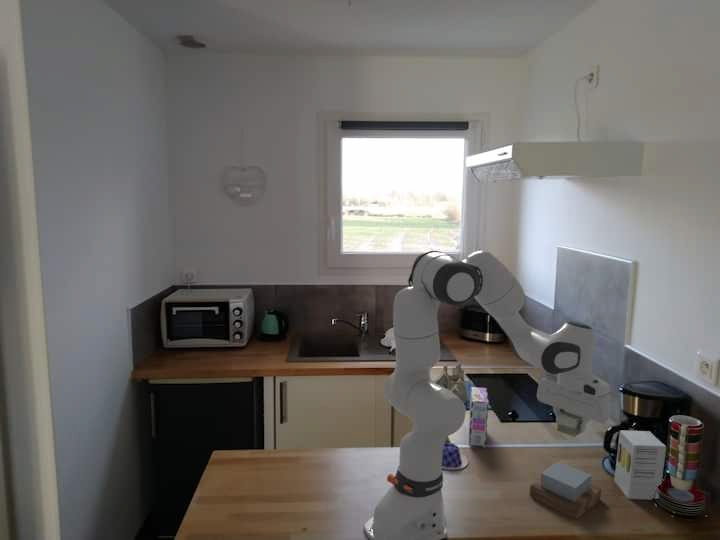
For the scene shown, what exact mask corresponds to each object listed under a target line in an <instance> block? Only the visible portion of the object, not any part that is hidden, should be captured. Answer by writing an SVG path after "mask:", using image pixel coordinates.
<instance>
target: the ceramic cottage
mask: <svg viewBox="0 0 720 540" xmlns="http://www.w3.org/2000/svg"><path fill="white" fill-rule="evenodd" d="M451 373H452V374H451V375H450V374H449V373H448V365H447V364H444V365H443V371H442V372H441V373H440V374H439V375H438V377H436V378H435V379H434V381H433V382H434V383H436V384H438V385H440V386H442V387H444V388H446V389H448V390H450V391H451V392H453V393H454V394H455V395H456V396H457V397H458V398H459V399H460V400H462V402H463V403H465V402H466V401H467V400H468V401H469V395H468V391H467V388H466V382H465V376H464V375H465V369H464V368H462V364H461V362H460V361H459V362H458V363H457V364H456V366H455V367H452V371H451ZM465 404H466V403H465Z"/></svg>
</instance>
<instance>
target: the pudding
mask: <svg viewBox="0 0 720 540" xmlns="http://www.w3.org/2000/svg"><path fill="white" fill-rule="evenodd" d="M468 464H469V460H468V458H467V456H465V455H464V454H462V453H461V452H460V449H459V446H458V445H456V444H454V443H452V442H451V443H450V442H446V443H444V447H443V455H442V469H444V470H454V471H455V470H461V469H464V468H465V467H466V466H467V465H468ZM445 466H446V467H447V468H446V467H445ZM448 467H451V468H448Z"/></svg>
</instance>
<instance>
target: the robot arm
mask: <svg viewBox="0 0 720 540" xmlns="http://www.w3.org/2000/svg"><path fill="white" fill-rule="evenodd" d="M411 267H412V268H411V271H410V272H411V273H410V274H409V277H408V279H407V283H408V286H407V287H404V288H403V289H401V290H399V291H398V292H397V293H396V294H395V297H394V299H393V310H392V311H393V312H392V325H393V327H392V328H393V337H394V347H395V367H394V371H393V372H392V373H391V374H390V375H389V376H388V378H387V379H386V381H385V383H384V388H383V393H384V397H385V399H386V400H387V401H388V403H390V405H391V406H392V407H393V408H394V409H395V410H396V411H398V412H399V413H401V414H402V415H404V416H406V417H408V418H409V419H410V420H411V422H412V430H411V431H410V432H408V433H406V434H405V435H404V436H403V437H402V438H401V440H400V443H399V463H398V464H399V465H398V467H397V470H396V474H395V476H394V475H393V474H392V473H390V474H388V475H387V477H386V482H388V483H390V484H392V486H390V488H389V489H388V490H387V492H386V493H385V494H384V496H383V497H382V498H380V501H378V503H377V504H376V506H375V508H374V512H373V516H371V517H370V518H369V520H367V521H366V522H364V524H363V530H364V532H365V534H366V536H367V537H368V538H369V539H370V540H442V539H445V538H446V537H448V529H447V528H446V517H445V507H444V499H443V492H442V488H443V486H444V485H443V483H444V471H443V468H442V455H443V447H444V444H446V443H445V442H446V440H447V439H448V437H450V436H452V435H454V434H455V433H456V432H458V431H459V430H460V429H461V427H462V426H463V424H464V423H465V419H466V414H467V413H466V410H467V409H466V406H465V404H464V403H463V402H462V400H460V399H459V398H458V397H457V396H456V395H455V394H454V393H453V392H451V391H450V390H448V389H446V388H444V387H442V386H440V385H438V384H436V383H434V382H435V381H433V380H432V378H431V369H433V368H434V367H435V366H436V365H437V364H438V363H439V361H440V359H441V347H440V346H441V343H440V333H439V323H438V322H439V321H438V311H439V307H440V306H441V303H442V304H444V305H446V306H451V307H460V306H463V305H465V304H467V303H469V302H471V301H472V300H473V299H474V300H476V301H477V302H478V304H479V305H480V306H481V308H482V309H484V310H485V311H486V312H487V313H488V314H489V315H490V316H491V317H492V318H493V319H494V320H495V322H496V323H497V324H498V325H499V327H500V328H501V329H502V331H503V332H504V333H505V335H506V336H507V339H508V341H509V344H510V348H511V351H512V353H513V355H514V356H515V357H516V358H517V359H518V360H521V361H524V362H526V363H528V364H529V365H532V366H534V367H536V368H537V369H540V370H541V372H540V374H539V376H538V382H539V383H538V387H537V391H536V398H537V400H538V402H540V403H543V404H546V405H549V406H552V411H553V413H554V415H555V422H557V423H558V416H559V414H560V413H561V410H563V411H568V412H571V413H574V414H577V415H580V416H582V420H584V422H583V423H582V422H581V423H579V424H578V430H580V431H583V432H584V431H586V429H587V425H588V423H590V421H594V422H596V423H600V424H604V423H607V422H608V421H609V420H610V419H611V417H612V399H611V396H610V394H609V392H610V390H611V386H610V384H609V383H608V382H606V381H604V380H603V379H601V378H599V377H598V376H596V375H595V374H594V373H593V365H592V363H593V360H594V357H595V350H596V349H595V348H596V346H595V345H596V341H595V340H596V339H595V338H596V337H595V332H594V329H593V328H592V327H591V326H590V325H588V324H585V323H581V322H578V321H572V320H570V321H569V320H568V321H565V322H564V324H563V325H562V327H561V328H559V329H558V330H557V331H555V332H553V333H552V334H549V333H546V332H545V331H543V330H542V331H541V330H540V329H538V328H536V327H535V326H532V325H529V324H528V323H526V321H525V320H524V318H523V317H522V315H521V314H520V313H519V311H520V310H521V309H522V307H523V306H524V305H525V304H524V303H525V300H526V299H525V298H526V294H525V290H524V289H523V287H522V285H521V283H520V282H519V280H518V279H517V278H516V277H515V275H514V274H513V273H512V272H511V271H510V270H509V268H508V267H507V266H506V265H504V263H502V262H501V261H500V260H499V259H498V258H497V257H496V256H495V255H494V254H492V253H490V252H488V251H486V250H478V251H474V252H473V253H470V254H469V255H468V256H467V257H466V258H465V259H463V260H460V259H459V258H456V257H455V256H453V255H450V254H448V253H444V252H442V251H440V250H439V251H438V250H428V251H425V252H422V253H420V254H419V255H417V257H416V259H414V262H413V264H412V266H411Z"/></svg>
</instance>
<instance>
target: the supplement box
mask: <svg viewBox="0 0 720 540" xmlns="http://www.w3.org/2000/svg"><path fill="white" fill-rule="evenodd" d="M617 443H618V445H617V455H616V461H615V462H616V463H615V471H614V480H613V481H614V482H615V484H616V486H618V488H619V489H620V490H621V492H622V493H623V494H624V496H625V497H626V498H627V499H628V500H648V501H649V500H651V501H652V499H653V498H654V494H655V491H656V488H657V487H658V486H659V485H661V484H662V485H663V476H664V467H665V460H666V459H665V458H666V452H667V446H666V445H665V444H664V443H663V442H661V440H660V439H659V438H658V437H656V436H655V435H654V434H653V433H652V432H651V431H650V430H647V431H646V430H625V429H624V430H619V434H618V442H617ZM662 485H661V486H662Z"/></svg>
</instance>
